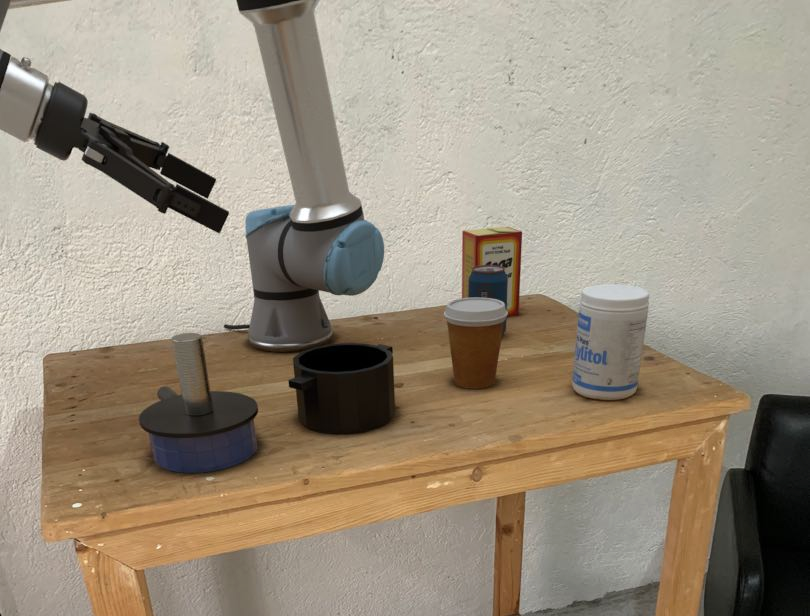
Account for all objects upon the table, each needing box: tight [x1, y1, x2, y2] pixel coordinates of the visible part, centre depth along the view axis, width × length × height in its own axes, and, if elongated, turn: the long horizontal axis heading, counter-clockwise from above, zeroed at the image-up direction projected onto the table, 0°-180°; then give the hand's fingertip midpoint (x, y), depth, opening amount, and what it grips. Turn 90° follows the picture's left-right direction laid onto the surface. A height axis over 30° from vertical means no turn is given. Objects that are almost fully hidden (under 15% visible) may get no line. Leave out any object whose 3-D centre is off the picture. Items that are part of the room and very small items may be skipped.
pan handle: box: [157, 385, 179, 401], centre depth 110 cm, size 10×2×2 cm, turn 32°
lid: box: [138, 332, 259, 438], centre depth 99 cm, size 15×15×11 cm
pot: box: [287, 342, 396, 435], centre depth 111 cm, size 14×19×8 cm
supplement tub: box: [571, 283, 650, 401], centre depth 115 cm, size 10×10×15 cm
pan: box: [147, 418, 258, 474], centre depth 103 cm, size 13×13×5 cm
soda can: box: [468, 265, 508, 336], centre depth 143 cm, size 7×7×12 cm
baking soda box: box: [461, 226, 523, 317], centre depth 155 cm, size 10×6×16 cm
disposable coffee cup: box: [443, 297, 508, 390], centre depth 121 cm, size 10×10×12 cm
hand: (217, 205), depth 101 cm, fingers open, 13 cm apart
